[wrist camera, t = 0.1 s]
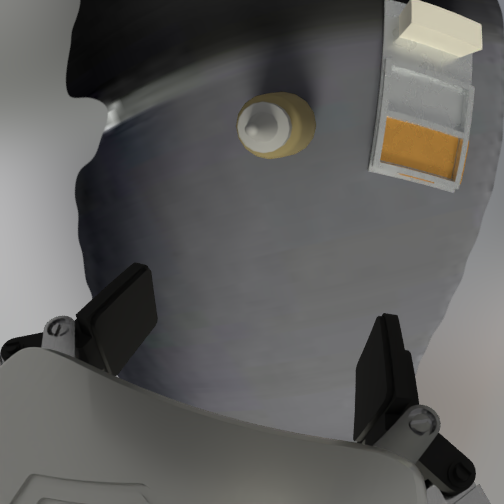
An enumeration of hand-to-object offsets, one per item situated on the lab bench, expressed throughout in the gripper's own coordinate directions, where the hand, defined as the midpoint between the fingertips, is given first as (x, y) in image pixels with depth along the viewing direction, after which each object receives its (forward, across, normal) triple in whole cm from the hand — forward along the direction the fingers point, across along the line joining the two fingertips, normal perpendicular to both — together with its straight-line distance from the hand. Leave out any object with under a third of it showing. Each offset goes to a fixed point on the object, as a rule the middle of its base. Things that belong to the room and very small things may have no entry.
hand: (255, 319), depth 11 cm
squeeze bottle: (+31, +4, -6) cm, 32 cm away
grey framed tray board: (+31, -14, -14) cm, 37 cm away
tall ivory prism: (+30, -14, -22) cm, 40 cm away
